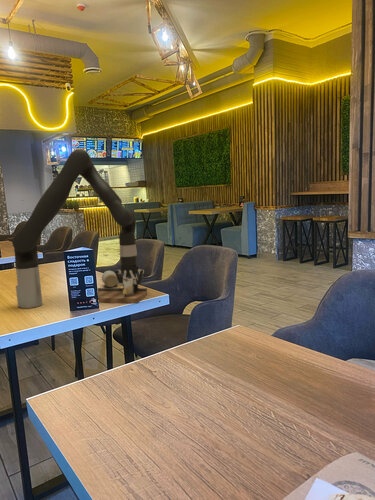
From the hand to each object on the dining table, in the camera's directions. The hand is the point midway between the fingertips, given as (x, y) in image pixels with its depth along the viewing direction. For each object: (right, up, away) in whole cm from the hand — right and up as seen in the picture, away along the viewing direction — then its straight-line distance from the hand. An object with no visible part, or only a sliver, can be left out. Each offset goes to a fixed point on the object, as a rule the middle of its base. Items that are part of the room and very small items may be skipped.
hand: (131, 291), depth 175 cm
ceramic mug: (-13, 0, +26) cm, 29 cm away
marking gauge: (0, -1, -2) cm, 2 cm away
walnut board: (-6, -3, 0) cm, 7 cm away
